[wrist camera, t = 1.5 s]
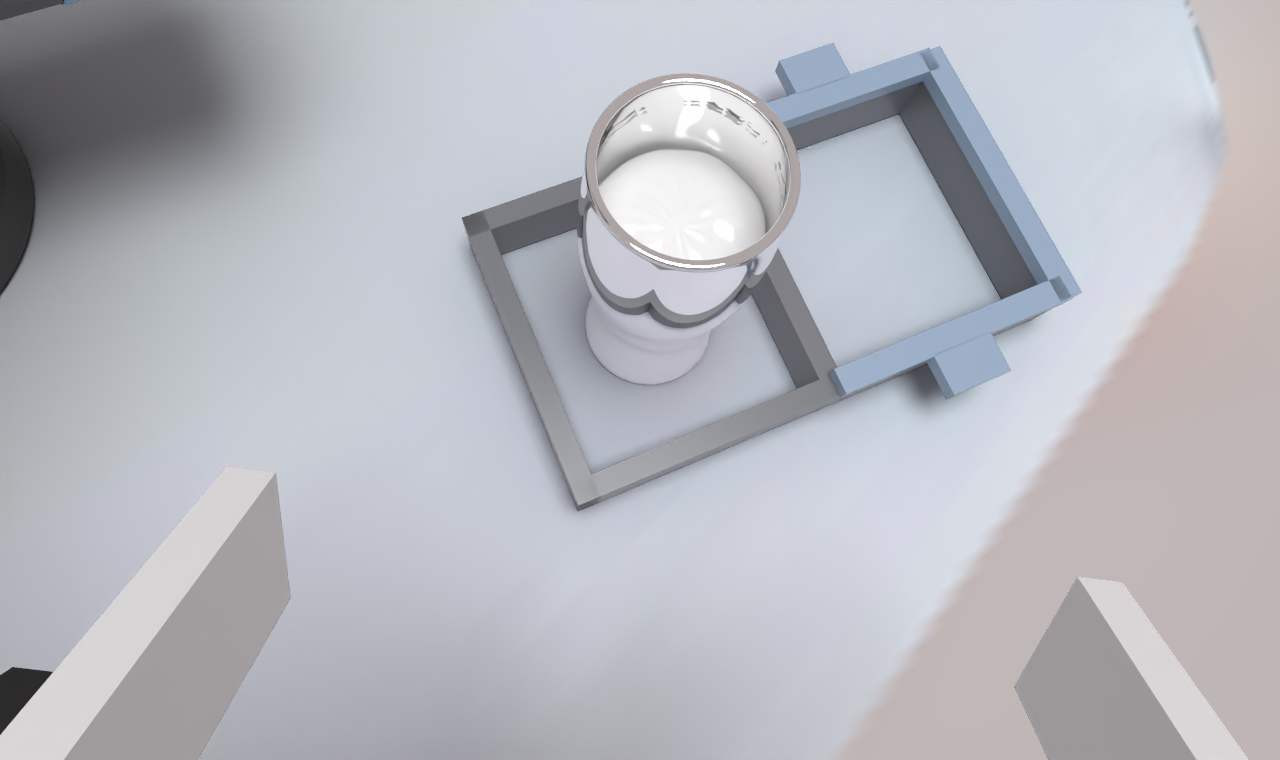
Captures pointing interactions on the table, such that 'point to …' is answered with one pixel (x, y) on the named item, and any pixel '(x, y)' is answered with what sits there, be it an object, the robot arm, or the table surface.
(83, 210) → the table surface
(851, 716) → the table surface
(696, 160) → the drinking glass
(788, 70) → the open frame
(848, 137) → the table surface
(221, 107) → the table surface
